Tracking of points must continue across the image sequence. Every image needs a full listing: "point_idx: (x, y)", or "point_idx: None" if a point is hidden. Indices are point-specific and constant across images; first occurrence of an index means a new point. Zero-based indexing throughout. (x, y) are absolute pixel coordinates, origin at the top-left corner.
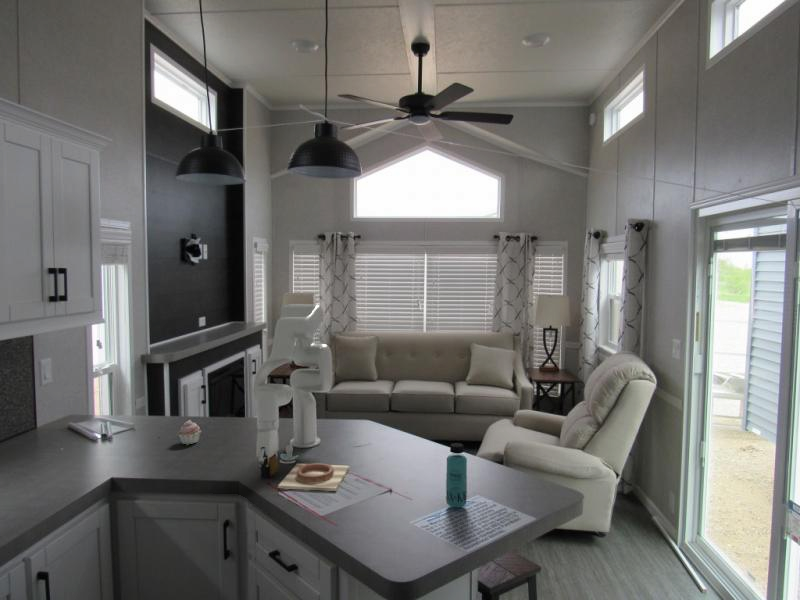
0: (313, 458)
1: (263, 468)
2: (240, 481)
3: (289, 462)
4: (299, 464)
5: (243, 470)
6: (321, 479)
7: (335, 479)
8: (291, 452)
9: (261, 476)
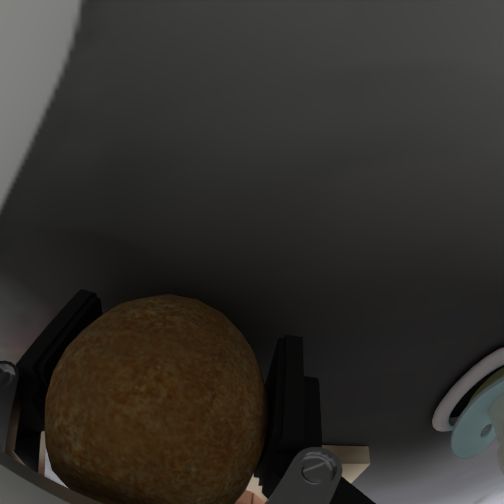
0: (453, 463)
1: (22, 371)
2: (60, 79)
3: (440, 415)
4: (349, 472)
5: (386, 11)
6: None
7: None
8: (498, 449)
9: (80, 294)
